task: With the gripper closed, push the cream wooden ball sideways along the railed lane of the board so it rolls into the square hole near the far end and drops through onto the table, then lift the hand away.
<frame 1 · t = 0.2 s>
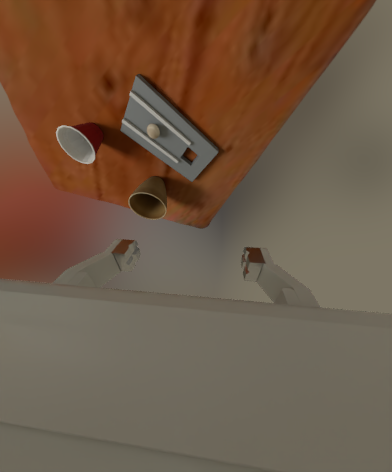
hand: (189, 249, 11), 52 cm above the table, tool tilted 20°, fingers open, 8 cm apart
hole board: (172, 138, 52), on the table
ball: (153, 131, 47), point 4 cm above the table, touching hole board
plastic cup: (94, 131, 53), on the table
plant pot: (157, 183, 68), on the table
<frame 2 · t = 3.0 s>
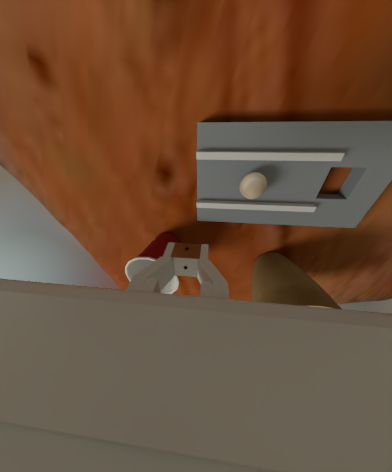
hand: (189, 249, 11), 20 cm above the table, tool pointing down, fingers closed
hole board: (281, 178, 26), on the table
ball: (252, 185, 23), point 4 cm above the table, touching hole board
plastic cup: (167, 240, 38), on the table
plant pot: (269, 261, 39), on the table
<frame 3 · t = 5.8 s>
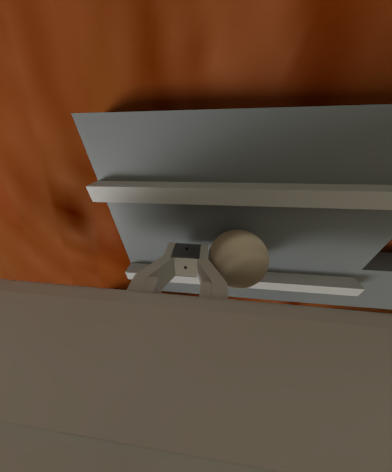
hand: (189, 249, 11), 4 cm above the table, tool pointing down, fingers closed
hole board: (290, 225, 13), on the table
ball: (237, 258, 10), point 4 cm above the table, tilted 18°, touching gripper, hole board
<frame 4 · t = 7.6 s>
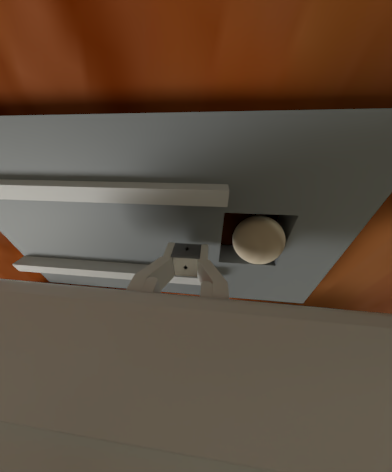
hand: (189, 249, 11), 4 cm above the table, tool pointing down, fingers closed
hole board: (163, 221, 14), on the table
ball: (257, 239, 12), point 2 cm above the table, tilted 126°
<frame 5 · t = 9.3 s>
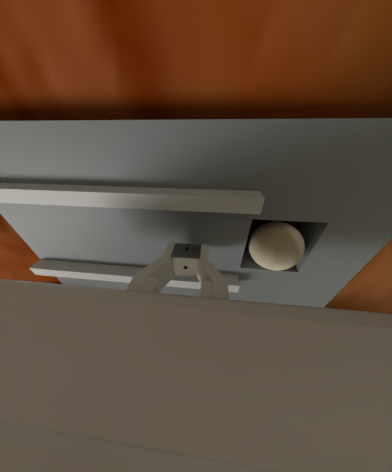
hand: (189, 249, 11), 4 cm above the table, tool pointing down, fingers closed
hole board: (182, 226, 14), on the table
ball: (274, 245, 12), point 2 cm above the table, tilted 110°
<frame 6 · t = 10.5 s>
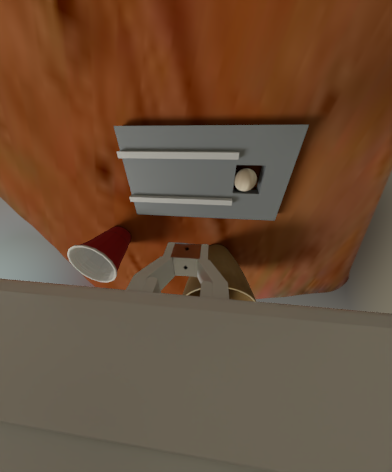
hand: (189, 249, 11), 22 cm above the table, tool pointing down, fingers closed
hole board: (205, 175, 29), on the table
ball: (245, 180, 27), point 2 cm above the table, tilted 99°
plastic cup: (120, 234, 41), on the table
plant pot: (216, 253, 41), on the table
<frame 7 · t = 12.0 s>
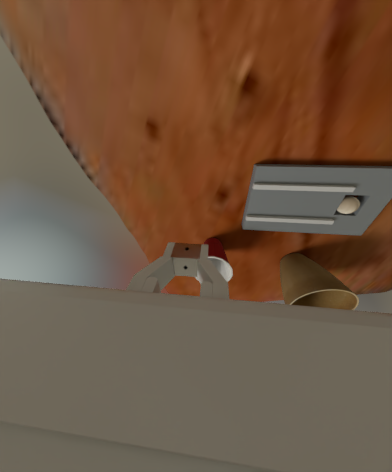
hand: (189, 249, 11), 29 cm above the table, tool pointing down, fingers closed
hole board: (308, 200, 36), on the table
ball: (347, 205, 34), point 2 cm above the table, tilted 100°
plastic cup: (212, 243, 48), on the table
plant pot: (292, 260, 49), on the table
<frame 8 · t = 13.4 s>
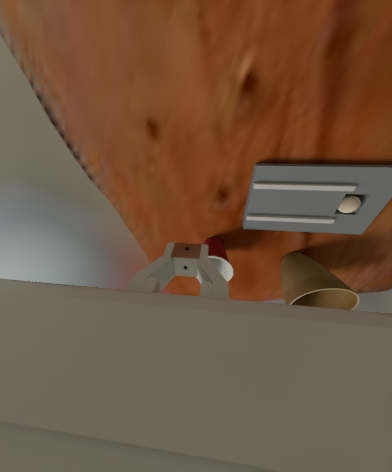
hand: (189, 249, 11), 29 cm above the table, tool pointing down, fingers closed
hole board: (309, 199, 37), on the table
ball: (348, 204, 34), point 2 cm above the table, tilted 103°
plastic cup: (212, 243, 48), on the table
plant pot: (293, 259, 49), on the table
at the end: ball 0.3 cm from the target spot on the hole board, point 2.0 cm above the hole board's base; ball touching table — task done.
